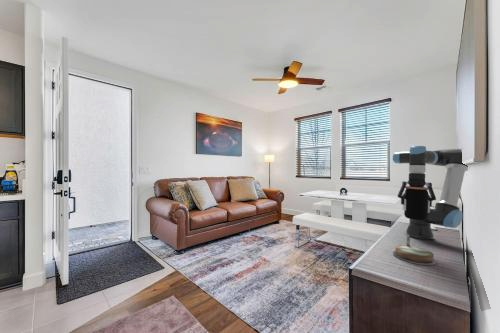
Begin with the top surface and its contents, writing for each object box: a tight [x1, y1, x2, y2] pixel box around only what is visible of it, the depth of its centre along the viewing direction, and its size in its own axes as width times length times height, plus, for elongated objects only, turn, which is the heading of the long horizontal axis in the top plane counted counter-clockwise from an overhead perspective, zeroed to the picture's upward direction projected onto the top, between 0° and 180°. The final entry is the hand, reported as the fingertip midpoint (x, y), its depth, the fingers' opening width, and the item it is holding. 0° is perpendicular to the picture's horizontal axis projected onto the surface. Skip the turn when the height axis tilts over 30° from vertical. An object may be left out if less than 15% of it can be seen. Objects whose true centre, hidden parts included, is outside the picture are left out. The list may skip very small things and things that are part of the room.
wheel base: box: [392, 250, 437, 267], centre depth 114 cm, size 18×18×1 cm
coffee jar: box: [403, 185, 429, 220], centre depth 125 cm, size 11×11×18 cm
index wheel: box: [395, 235, 435, 263], centre depth 114 cm, size 16×16×9 cm
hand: (415, 211), depth 125 cm, fingers closed on coffee jar, 11 cm apart
